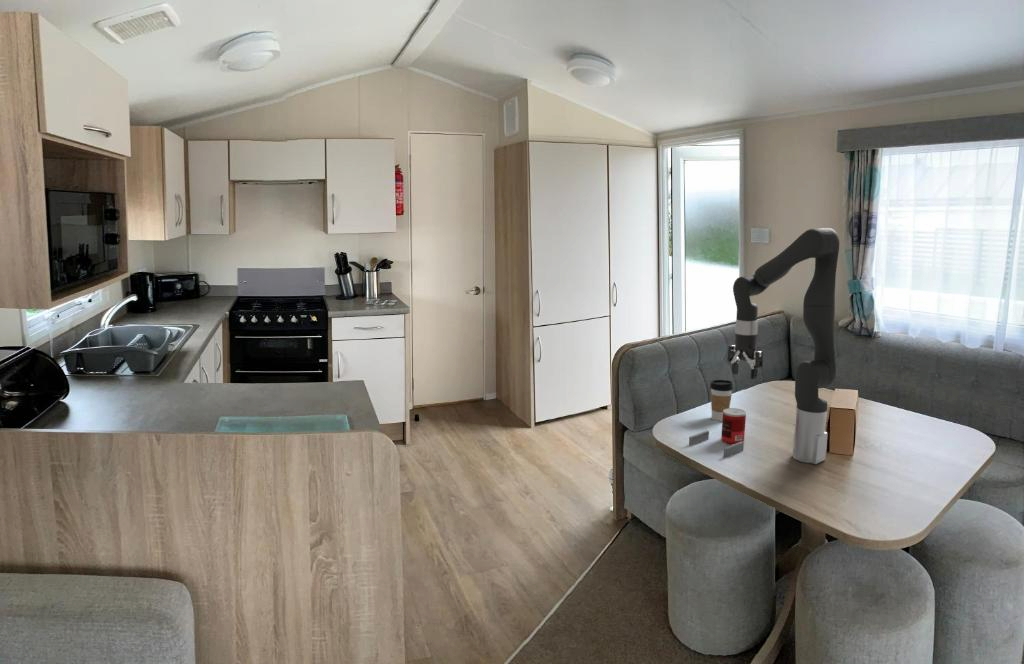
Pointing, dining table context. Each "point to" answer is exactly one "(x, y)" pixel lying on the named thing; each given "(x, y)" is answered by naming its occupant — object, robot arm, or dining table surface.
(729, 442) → the canned food
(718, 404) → the coffee cup
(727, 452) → the lane rails
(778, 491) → the dining table surface
